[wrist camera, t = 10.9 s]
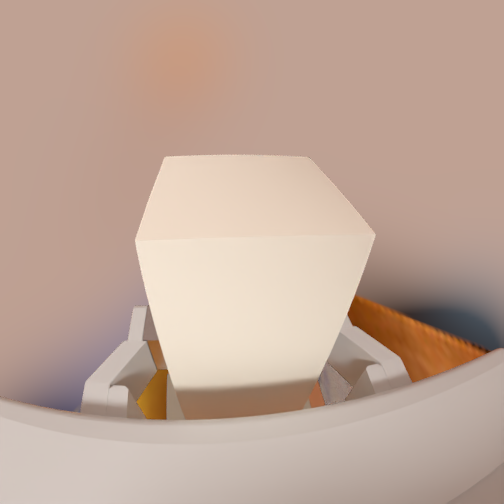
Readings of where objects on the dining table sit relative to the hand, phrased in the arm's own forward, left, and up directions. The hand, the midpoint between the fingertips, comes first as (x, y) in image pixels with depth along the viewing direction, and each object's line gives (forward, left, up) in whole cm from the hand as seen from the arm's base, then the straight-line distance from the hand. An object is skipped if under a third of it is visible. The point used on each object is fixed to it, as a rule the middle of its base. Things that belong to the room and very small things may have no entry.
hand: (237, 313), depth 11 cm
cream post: (0, +1, -7) cm, 7 cm away
